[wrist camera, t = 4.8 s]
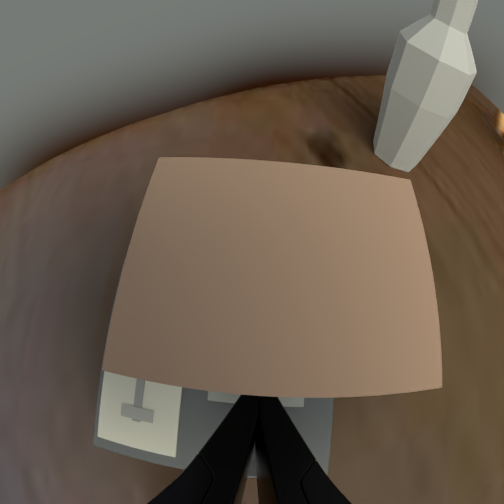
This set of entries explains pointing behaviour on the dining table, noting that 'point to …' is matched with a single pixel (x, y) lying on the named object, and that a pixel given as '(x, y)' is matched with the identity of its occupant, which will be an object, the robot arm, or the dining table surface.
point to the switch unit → (184, 420)
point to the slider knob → (276, 284)
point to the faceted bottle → (425, 83)
